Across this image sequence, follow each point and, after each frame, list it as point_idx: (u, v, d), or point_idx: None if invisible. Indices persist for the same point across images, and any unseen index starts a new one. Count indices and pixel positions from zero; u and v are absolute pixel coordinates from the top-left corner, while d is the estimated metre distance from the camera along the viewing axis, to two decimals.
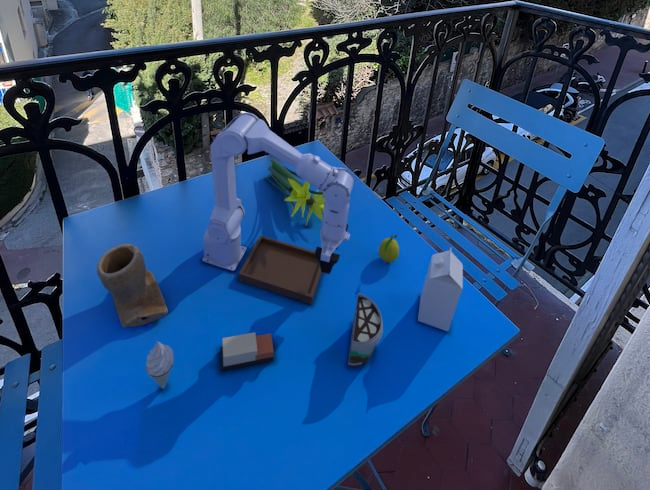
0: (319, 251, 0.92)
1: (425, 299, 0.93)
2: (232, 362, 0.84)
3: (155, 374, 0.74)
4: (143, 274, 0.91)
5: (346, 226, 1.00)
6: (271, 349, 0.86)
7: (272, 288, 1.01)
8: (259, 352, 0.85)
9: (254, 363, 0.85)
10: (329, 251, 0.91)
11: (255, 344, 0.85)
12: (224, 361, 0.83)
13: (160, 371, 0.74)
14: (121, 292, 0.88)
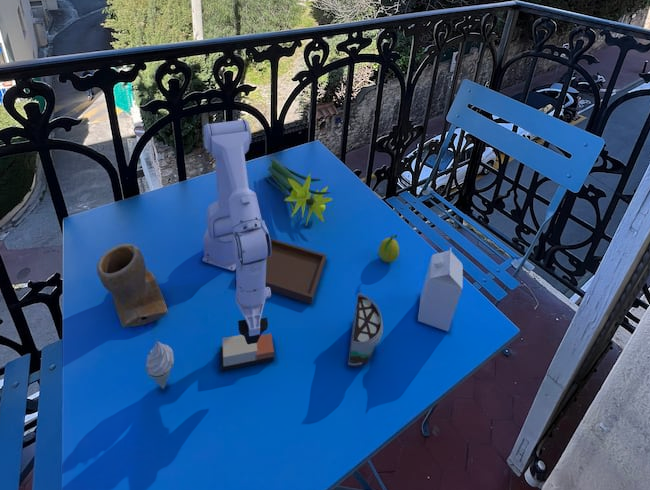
0: (243, 325, 0.77)
1: (425, 299, 0.93)
2: (232, 362, 0.84)
3: (155, 374, 0.74)
4: (143, 274, 0.91)
5: None
6: (271, 349, 0.86)
7: (272, 288, 1.01)
8: (259, 352, 0.85)
9: (254, 363, 0.85)
10: (256, 321, 0.76)
11: (255, 344, 0.85)
12: (224, 361, 0.83)
13: (160, 371, 0.74)
14: (121, 292, 0.88)
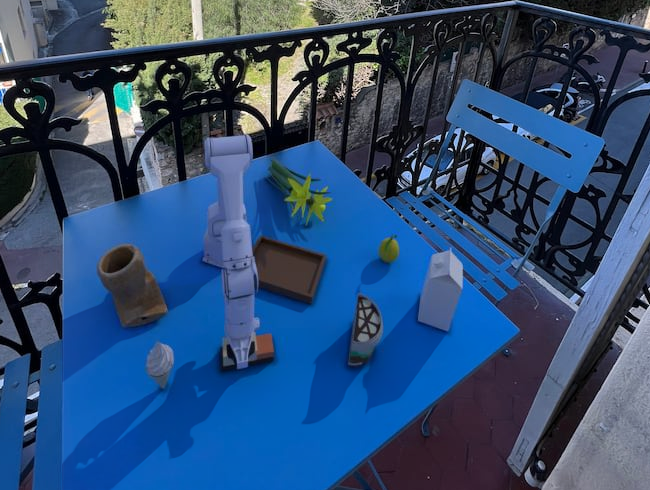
0: (231, 349, 0.80)
1: (425, 299, 0.93)
2: (232, 362, 0.84)
3: (155, 374, 0.74)
4: (143, 274, 0.91)
5: None
6: (271, 349, 0.86)
7: (272, 288, 1.01)
8: (259, 352, 0.85)
9: (254, 363, 0.85)
10: (244, 353, 0.78)
11: (255, 344, 0.85)
12: (224, 361, 0.83)
13: (160, 371, 0.74)
14: (121, 292, 0.88)
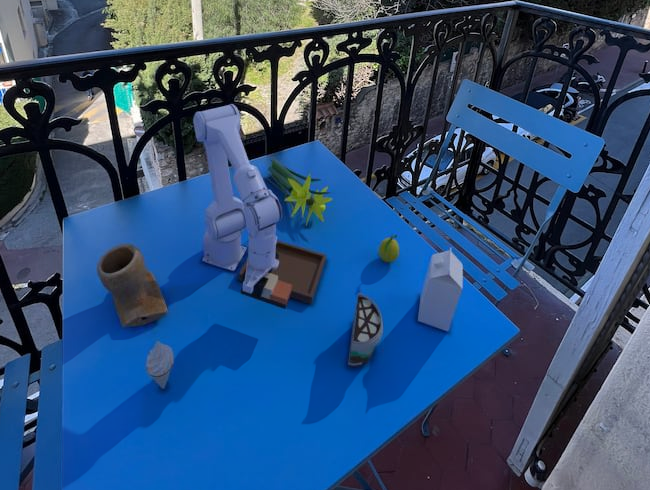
0: None
1: (425, 299, 0.93)
2: None
3: (155, 374, 0.74)
4: (143, 274, 0.91)
5: (276, 256, 0.92)
6: (285, 296, 0.89)
7: None
8: (274, 294, 0.90)
9: (268, 301, 0.91)
10: (252, 281, 0.84)
11: (272, 284, 0.90)
12: None
13: (160, 371, 0.74)
14: (121, 292, 0.88)
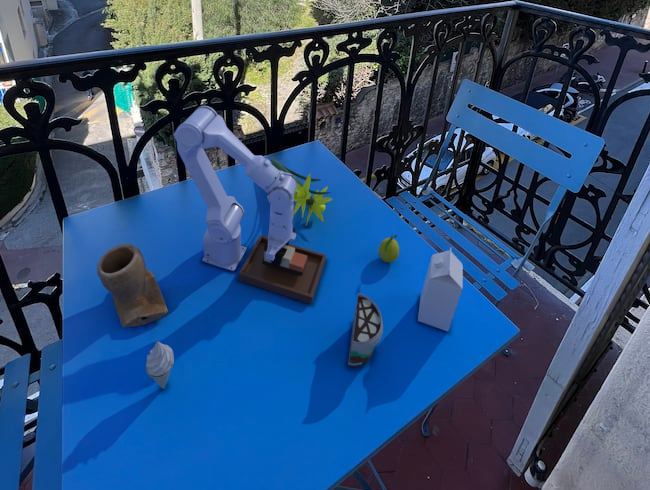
0: None
1: (425, 299, 0.93)
2: None
3: (155, 374, 0.74)
4: (143, 274, 0.91)
5: (293, 231, 1.05)
6: (301, 265, 1.02)
7: (272, 288, 1.01)
8: (292, 263, 1.03)
9: (286, 270, 1.04)
10: (274, 250, 0.97)
11: (290, 255, 1.03)
12: (265, 256, 1.04)
13: (160, 371, 0.74)
14: (121, 292, 0.88)
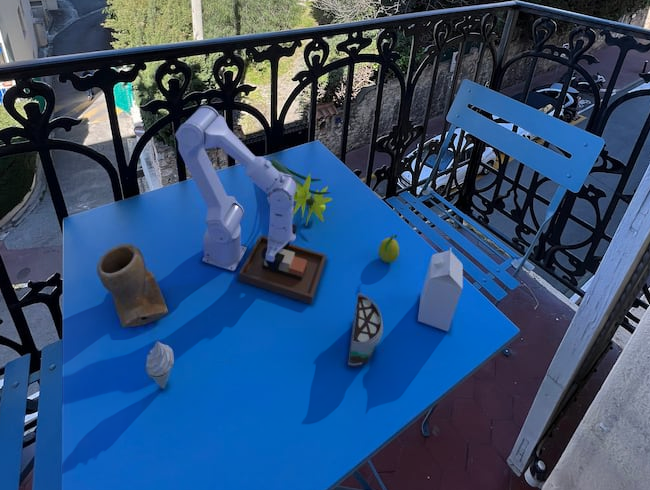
0: (265, 251, 0.99)
1: (425, 299, 0.93)
2: None
3: (155, 374, 0.74)
4: (143, 274, 0.91)
5: (295, 228, 1.07)
6: (301, 269, 1.03)
7: (272, 288, 1.01)
8: (292, 267, 1.03)
9: (286, 274, 1.04)
10: (274, 251, 0.97)
11: (290, 259, 1.04)
12: None
13: (160, 371, 0.74)
14: (121, 292, 0.88)
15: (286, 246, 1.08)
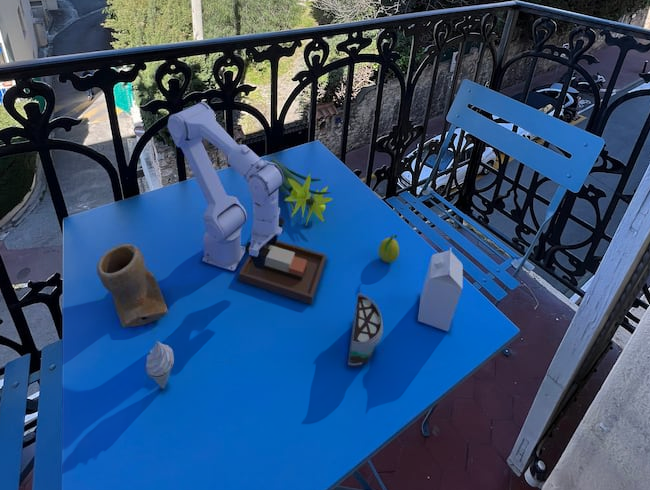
0: (249, 246, 0.92)
1: (425, 299, 0.93)
2: (271, 265, 1.05)
3: (155, 374, 0.74)
4: (143, 274, 0.91)
5: (282, 221, 1.00)
6: (301, 269, 1.03)
7: (272, 288, 1.01)
8: (292, 267, 1.03)
9: (286, 274, 1.04)
10: (258, 245, 0.91)
11: (290, 259, 1.04)
12: (265, 260, 1.05)
13: (160, 371, 0.74)
14: (121, 292, 0.88)
15: (273, 241, 1.02)
